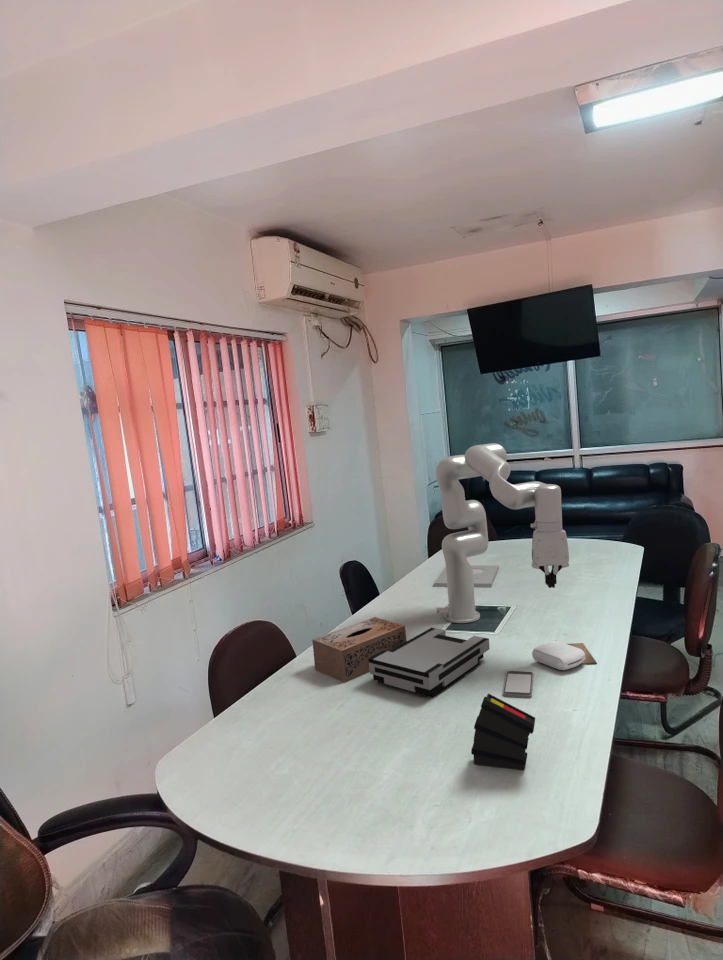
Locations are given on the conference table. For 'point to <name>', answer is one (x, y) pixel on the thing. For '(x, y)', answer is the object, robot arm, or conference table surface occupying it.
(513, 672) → the smartphone
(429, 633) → the game console
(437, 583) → the award plaque
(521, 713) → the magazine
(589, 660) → the board
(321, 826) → the conference table surface
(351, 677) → the tissue box cover
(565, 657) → the photo printer
